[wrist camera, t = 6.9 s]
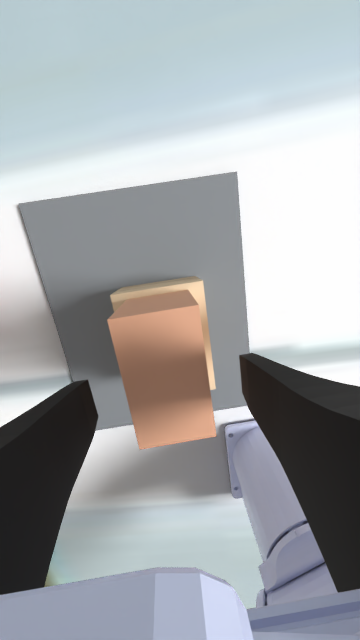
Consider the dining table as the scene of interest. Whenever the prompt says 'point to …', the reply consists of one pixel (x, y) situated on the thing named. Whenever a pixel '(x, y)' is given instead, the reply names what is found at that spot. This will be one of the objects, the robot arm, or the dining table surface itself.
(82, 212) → the build plate
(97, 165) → the dining table surface
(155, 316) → the terracotta brick
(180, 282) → the oak brick
